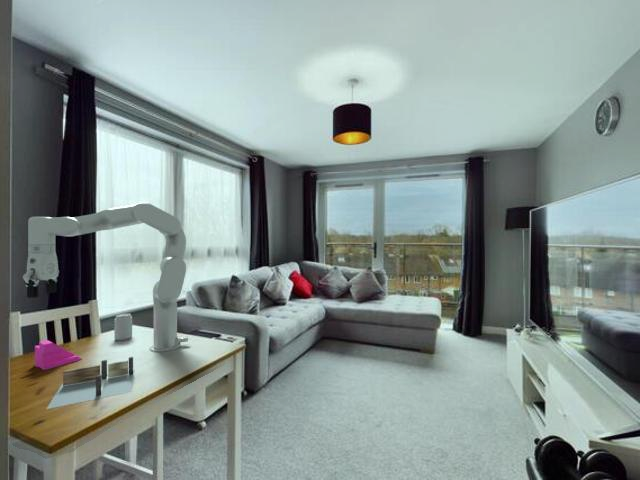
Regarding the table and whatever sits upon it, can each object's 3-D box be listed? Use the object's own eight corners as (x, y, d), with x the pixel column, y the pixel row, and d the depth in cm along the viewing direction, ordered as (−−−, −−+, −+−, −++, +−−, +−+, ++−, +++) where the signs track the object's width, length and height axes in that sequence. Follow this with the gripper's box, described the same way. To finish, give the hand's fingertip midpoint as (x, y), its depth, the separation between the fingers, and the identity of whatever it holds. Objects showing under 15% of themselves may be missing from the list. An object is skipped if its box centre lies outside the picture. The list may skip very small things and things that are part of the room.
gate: (100, 378, 106) (100, 364, 106) (99, 379, 105) (99, 365, 105) (63, 384, 101) (63, 370, 101) (62, 386, 100) (62, 371, 100)
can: (110, 340, 148) (110, 316, 148) (122, 335, 155) (122, 312, 155) (123, 341, 146) (123, 316, 146) (135, 336, 154) (135, 313, 154)
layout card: (134, 371, 113) (134, 370, 113) (131, 393, 97) (131, 391, 97) (62, 384, 103) (62, 382, 103) (46, 411, 87) (46, 409, 87)
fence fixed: (133, 372, 111) (133, 355, 111) (130, 389, 99) (130, 369, 99) (101, 378, 106) (101, 360, 106) (95, 396, 94) (95, 376, 94)
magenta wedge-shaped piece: (43, 371, 113) (43, 344, 113) (34, 365, 119) (34, 339, 119) (82, 361, 123) (82, 336, 123) (72, 355, 129) (72, 331, 129)
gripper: (37, 250, 105) (37, 299, 106) (67, 248, 122) (68, 290, 123) (11, 250, 104) (12, 299, 104) (46, 248, 121) (46, 291, 121)
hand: (42, 294), depth 113 cm, fingers open, 9 cm apart
